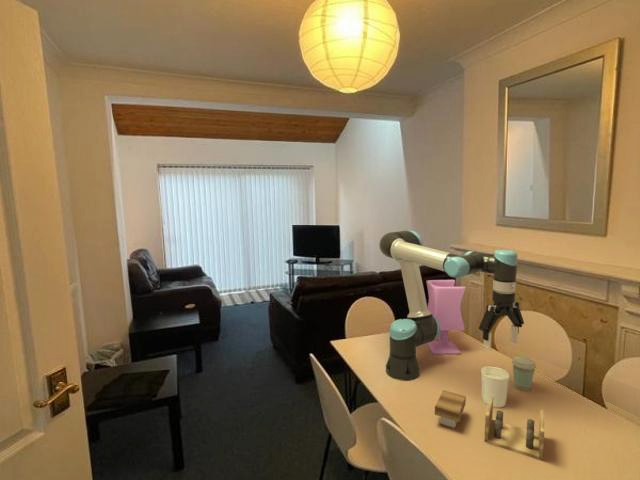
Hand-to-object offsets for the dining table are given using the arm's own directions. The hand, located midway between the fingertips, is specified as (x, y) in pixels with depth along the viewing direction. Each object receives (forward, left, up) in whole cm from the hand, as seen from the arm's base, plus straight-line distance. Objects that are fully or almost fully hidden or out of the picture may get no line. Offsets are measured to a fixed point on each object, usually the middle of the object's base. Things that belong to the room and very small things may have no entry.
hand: (500, 345), depth 133 cm
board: (-13, -22, -19) cm, 32 cm away
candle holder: (-1, -2, -23) cm, 23 cm away
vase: (-29, +36, -23) cm, 52 cm away
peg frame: (+7, -22, -23) cm, 32 cm away
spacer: (-13, -22, -23) cm, 34 cm away
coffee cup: (+8, +15, -23) cm, 28 cm away
